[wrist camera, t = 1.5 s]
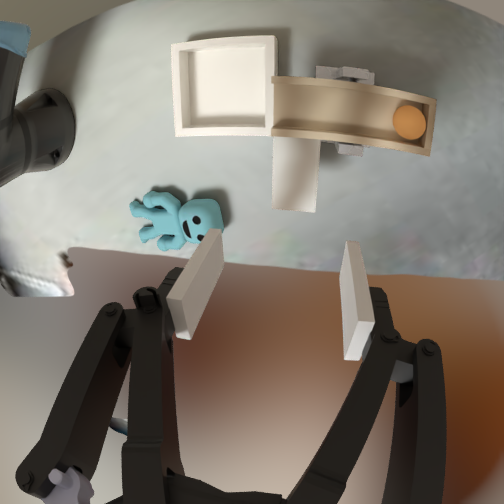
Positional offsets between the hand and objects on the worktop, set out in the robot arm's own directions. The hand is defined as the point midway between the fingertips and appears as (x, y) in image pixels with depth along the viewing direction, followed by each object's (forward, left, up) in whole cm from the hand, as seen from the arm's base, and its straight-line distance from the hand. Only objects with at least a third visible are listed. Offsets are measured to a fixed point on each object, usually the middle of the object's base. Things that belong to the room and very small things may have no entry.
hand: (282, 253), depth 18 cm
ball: (+10, +8, -11) cm, 17 cm away
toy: (-17, -9, -22) cm, 29 cm away
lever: (+5, +4, -13) cm, 15 cm away
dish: (-9, +10, -21) cm, 25 cm away
